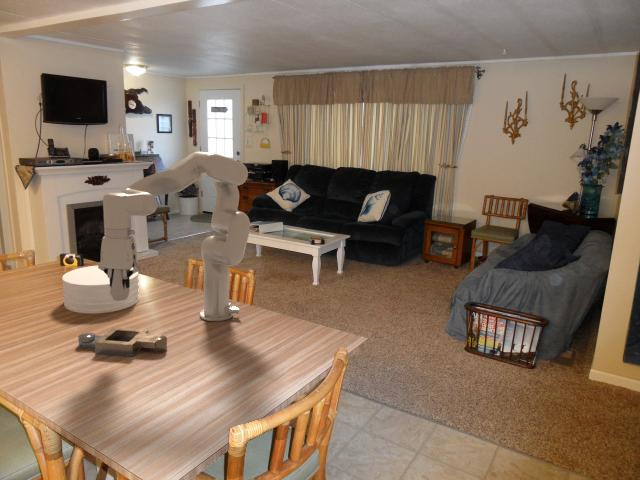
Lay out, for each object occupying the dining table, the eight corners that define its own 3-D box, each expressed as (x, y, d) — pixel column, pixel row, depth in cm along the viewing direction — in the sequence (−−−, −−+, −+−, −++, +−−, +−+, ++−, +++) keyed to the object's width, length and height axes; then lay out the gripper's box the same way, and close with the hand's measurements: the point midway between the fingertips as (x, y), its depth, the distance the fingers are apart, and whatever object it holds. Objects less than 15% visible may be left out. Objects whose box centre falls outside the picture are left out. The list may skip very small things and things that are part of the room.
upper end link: (173, 342, 159) (173, 331, 158) (159, 358, 147) (158, 347, 147) (114, 338, 160) (113, 327, 159) (95, 354, 149) (94, 342, 148)
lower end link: (148, 340, 160) (148, 332, 159) (132, 356, 148) (132, 348, 147) (89, 336, 161) (89, 328, 160) (69, 352, 149) (68, 343, 148)
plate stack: (153, 299, 198) (152, 273, 196) (90, 319, 175) (89, 290, 172) (112, 285, 213) (111, 261, 210) (49, 302, 190) (47, 275, 187)
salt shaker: (110, 302, 146) (109, 262, 144) (109, 296, 151) (107, 257, 149) (131, 300, 149) (129, 260, 146) (129, 294, 154) (127, 256, 151)
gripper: (148, 232, 149) (150, 287, 153) (98, 229, 150) (101, 284, 154) (138, 237, 142) (139, 295, 146) (85, 233, 142) (88, 291, 146)
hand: (119, 289), depth 150 cm, fingers closed on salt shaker, 3 cm apart
